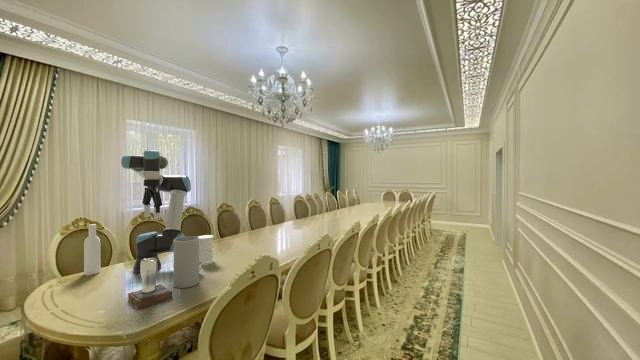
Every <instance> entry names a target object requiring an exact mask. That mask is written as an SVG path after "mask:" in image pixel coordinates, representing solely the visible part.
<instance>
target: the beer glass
mask: <svg viewBox="0 0 640 360" xmlns="http://www.w3.org/2000/svg"><path fill="white" fill-rule="evenodd" d="M157 273H158V270H157V258H146V259H143V260H141V265H140V273H139V274H140V276H141V282H142V284H141V285H142V287H141V290H142V293H150V292H153V291H155V290H156V285H157V284H156V279H157Z"/></svg>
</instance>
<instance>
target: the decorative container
mask: <svg viewBox="0 0 640 360" xmlns="http://www.w3.org/2000/svg"><path fill="white" fill-rule="evenodd" d="M197 237H199V260H201V261H202V266H207V265H208V266H209V265H211V264H212V265H213V264H214V263H215V259H214V254H213V253H214V250H213V248H214V245H213V243H214V241H213V239H214V235H212V234H204V235H198V236H197Z"/></svg>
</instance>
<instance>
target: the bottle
mask: <svg viewBox="0 0 640 360" xmlns="http://www.w3.org/2000/svg"><path fill="white" fill-rule="evenodd" d="M87 229H88V236H87V237H86V238H85V240H83V241H84V242H83V275H84V274H85V275H84V276H94V275H97V273H98V274H100V273H101V269H102V267H101V266H102V265H101V238H100V236H98V235H97V224H96V223H91V224H88V227H87ZM93 274H94V275H93Z"/></svg>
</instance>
